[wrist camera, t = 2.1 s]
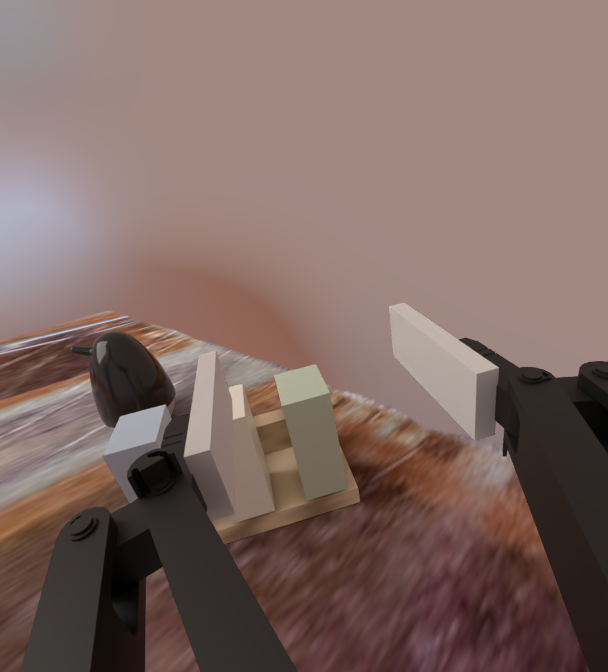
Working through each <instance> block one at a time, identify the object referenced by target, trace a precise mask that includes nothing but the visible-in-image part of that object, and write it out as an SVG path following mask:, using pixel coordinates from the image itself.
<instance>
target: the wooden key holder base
mask: <svg viewBox="0 0 608 672" xmlns="http://www.w3.org/2000/svg"><path fill="white" fill-rule="evenodd" d="M253 420H254V423H255V426H256V429H257V432H258V436H259V439H260V442H261V445H262V449H263V452H264V455H265V458H266V461H267V465H268V468H269V472H270V478H271V485H272V492H273V498H274V505H275V511H272V512H269V513H266V514H262V515H259V516H256V517H253V518H249V519H246V520H243V521H240V522H236V523H232V521H231V519H230V516H227V517H224V518H220V519H217V520H214V521H212V520H211V518H210V516H209V513H208V511H207V515H208V517H209V518H210V520H211V522H212V524H213V525H214V527H215V529H216V530H217V532H218V534H219V536H220V537H221V539H222V541H223V543H224V544H227V543H231V542H234V541H237V540H240V539H243V538H247V537H250V536H253V535H256V534H259V533H263V532H266V531H269V530H272V529H275V528H279V527H282V526H285V525H288V524H291V523H295V522H298V521H301V520H304V519H307V518H311V517H314V516H317V515H320V514H323V513H326V512H330V511H333V510H336V509H339V508H342V507H346V506H349V505H352V504H355V503H358V502H360V497H359V491H358V486H357V484H356V482H355V479H354V477H353V475H352V472H351V470H350V468H349V465H348V463H347V461H346V458H345V456H344V454H343V451H342V449H341V447H340V450H341V456H342V461H343V467H344V472H345V477H346V483H347V489H344V490H340V491H337V492H334V493H331V494H327V495H324V496H321V497H318V498H314V499H311V500H308V501H307V500H306V497H305V493H304V489H303V485H302V481H301V477H300V474H299V470H298V466H297V462H296V458H295V455H294V451H293V447H292V443H291V439H290V435H289V432H288V428H287V424H286V420H285V416H284V413H283V409H279V410H275V411H272V412H268V413H265V414H261V415H257V416H254V417H253ZM339 445H340V444H339Z"/></svg>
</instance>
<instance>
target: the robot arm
mask: <svg viewBox="0 0 608 672" xmlns="http://www.w3.org/2000/svg"><path fill="white" fill-rule="evenodd" d="M389 310H390V321H391V332H392V344H393V356H394V357H395V358H396V359H397V360H398V361H399V362H400V363H401V364H402V365H403V366H404V367H405V368H406V369H407V370H408V372H410V374H411V375H412V376H413V377H414V378H415V379H416V380H417V381H418V382H419V383H420V384H421V385H422V386H423V387H424V388H425V389H426V390H427V391H428V392H429V394H430V395H432V397H433V398H434V399H435V400H436V401H437V402H438V403H439V404H440V405H441V406H442V407H443V408H444V409H445V410H446V411H447V412H448V413H449V414H450V416H451V417H452V418H453V419H454V420H455V421H456V422H458V424H459V425H460V426H461V427H462V428H463V429H464V430H465V431H466V432H467V433H468V434H469V435H470V436H471V438H472V439H473V440H474V441H476V440H479V439H482V438H486V437H489V436H492V435H495V423H496V421H497V422H498V423H499V424H500V425H501V426H502V427H504V439H503V456H507V450H508V451H509V454H510V457H511V459H512V462H513V465H514V467H515V470H516V473H517V476H518V478H519V481H520V484H521V486H522V489H523V492H524V495H525V497H526V500H527V503H528V505H529V508H530V511H531V513H532V516H533V519H534V522H535V524H536V527H537V530H538V532H539V535H540V538H541V541H542V543H543V546H544V549H545V551H546V554H547V557H548V560H549V562H550V565H551V568H552V570H553V573H554V576H555V579H556V581H557V584H558V587H559V589H560V592H561V595H562V597H563V600H564V603H565V606H566V608H567V611H568V614H569V616H570V619H571V622H572V625H573V627H574V630H575V633H576V635H577V638H578V641H579V644H580V646H581V649H582V652H583V654H584V657H585V660H586V662H587V665H588V668H589V671H590V672H608V362H604V361H596V362H588V363H585V364H583V365H582V366H581V367H580V369H579V375H578V376H576V377H562V378H561V377H560V378H555V377H554V376H553V375H552V374H551V373H549V372H547V371H545V370H543V369H539V368H534V367H521V368H519V367H517V366H516V365H514V364H513V363H511V362H509V361H508V360H506V359H505V358H503V357H502V356H500V355H499V354H497V353H496V354H495V352H494V351H492V350H491V349H488V348H487V347H486V346H484V345H483V344H481V343H480V342H478V341H475V340H471V339H468V338H463V339H459V340H458V339H456V338H455V337H453V336H452V335H450V334H449V333H448V332H446V331H445V330H443V329H442V328H440V327H439V326H437V325H436V324H434V323H433V322H432V321H430V320H428V319H427V318H426V317H424V316H423V315H421V314H420V313H418V312H417V311H415V310H414V309H412V308H411V307H410V306H408V305H407V304H405V303H401V304H397V305H393V306H390V307H389ZM127 479H128V481H129V483H130V485H131V487H132V488H133V490H134V492H135V494H136V496H137V497H138V498H137V499H136V500H135V501H133V502H131V503H130V504H128V505H126V506H125V507H123V508H121V509H119V510H117V511H115V512H113V513H112V514H110V512H109V511H108V510H107V509H105V508H104V507H94V508H91V509H87V510H85V511H83V512H82V513H80V514H78V515H76V516H75V517H74V518H73V519H72V520H70V521H69V522H68V523H67V524H66V525H65V526H64V528H63V529H62V530H61V531H60V533H59V535H58V537H57V539H56V542H55V546H54V550H53V553H52V557H51V561H50V564H49V568H48V572H47V575H46V579H45V583H44V586H43V590H42V594H41V597H40V601H39V605H38V608H37V612H36V616H35V619H34V623H33V627H32V630H31V634H30V638H29V641H28V645H27V649H26V652H25V656H24V660H23V663H22V667H21V671H20V672H145V605H146V577H147V576H148V575H150V574H152V573H153V572H155V571H156V570H158V569H159V568H161V567H163V569H164V571H165V574H166V577H167V580H168V583H169V585H170V588H171V591H172V594H173V596H174V599H175V602H176V605H177V608H178V610H179V613H180V616H181V619H182V622H183V624H184V627H185V630H186V633H187V635H188V638H189V641H190V644H191V647H192V649H193V652H194V655H195V658H196V660H197V663H198V666H199V669H200V672H297V670H296V668H295V666H294V665H293V663H292V661H291V660H290V658H289V656H288V654H287V653H286V651H285V649H284V647H283V646H282V644H281V642H280V640H279V639H278V637H277V635H276V633H275V632H274V630H273V628H272V626H271V625H270V623H269V621H268V619H267V618H266V616H265V614H264V612H263V611H262V609H261V607H260V605H259V604H258V602H257V600H256V598H255V597H254V595H253V593H252V592H251V590H250V588H249V586H248V585H247V583H246V581H245V579H244V578H243V576H242V574H241V572H240V571H239V569H238V567H237V565H236V564H235V562H234V560H233V558H232V557H231V555H230V553H229V551H228V550H227V548H226V546H225V544H224V543H223V541H222V539H221V537H220V536H219V534H218V532H217V530H216V529H215V527H214V525H213V524H212V522H211V520H212V521H214V520H217V519H220V518H224V517H227V516H230V515H234V514H235V480H234V443H233V407H232V397H231V394H230V391H229V388H228V385H227V382H226V379H225V376H224V373H223V370H222V367H221V364H220V361H219V358H218V355H217V352H216V351H213V352H210V353H206V354H202V355H199V361H198V367H197V374H196V380H195V387H194V393H193V400H192V406H191V412H190V414H187V415H183V416H180V417H176V418H173V419H172V420H171V421H170V423H169V424H168V425H167V427H166V428H165V431H164V435H163V440H162V443H161V448H158V449H154V450H151V451H149V452H147V453H145V454H143V455H142V456H140V457H139V458H137V459H136V460H135V461H134V462H133V464H132V465H131V466H130V468H129V470H128V472H127ZM207 511H208V513H209V516H210V518H211V520H210V518H209V517H208V515H207Z"/></svg>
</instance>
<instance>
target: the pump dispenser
mask: <svg viewBox="0 0 608 672" xmlns="http://www.w3.org/2000/svg"><path fill="white" fill-rule="evenodd" d="M70 351H71V353H72V354H77V355H82V356H87V357H90V380H91V387H92V392H93V396H94V400H95V403H96V406H97V409H98V412H99V415H100V417H101V419H102V421H103V422H104V424H105V425H106V426H108V427H110V428H112V429H113V430H114V429H115V427H116V425H117V422H118V420H119V418H120V416H124V415H127V414H131V413H135V412H139V411H142V410H146V409H150V408H154V407H157V406H161V405H165V404H166V406H167V409H168V411H169V413H170V415H172V413H173V410H174V406H175V388H174V386H173V384H172V382H171V380H170V378H169V377H168V375H167V373H166V372H165V370H164V369H163V367H162V366H161V364H160V363H159V362H158V360H157V359H156V358H155V357H154V356H153V355H152V354H151V352H150V351H149V350H148V349H147V348H146V347H145V346H144V345H142V344H141V343H140V342H139V341H138V340H137V339H135V338H134V337H132V336H131V335H129V334H127V333H125V332H121V331H110V332H107V333H104V334H102V335H101V336H99V337H98V338H97V339H96V340H95V342H94V344H93V346H92V347H86V346H72V347H71V350H70Z"/></svg>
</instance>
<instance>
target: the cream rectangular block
mask: <svg viewBox="0 0 608 672" xmlns="http://www.w3.org/2000/svg"><path fill="white" fill-rule="evenodd" d="M228 388H229V391H230V394H231V397H232V407H233V443H234V480H235V514H234V515H230V519H231V521H232V523H236V522H240V521H243V520H246V519H249V518H253V517H256V516H259V515H262V514H266V513H269V512H272V511H275V505H274V498H273V492H272V485H271V478H270V472H269V468H268V465H267V461H266V458H265V455H264V452H263V449H262V445H261V442H260V439H259V436H258V432H257V429H256V426H255V423H254V420H253V416H252V413H251V410H250V407H249V404H248V400H247V397H246V394H245V391H244V387H243V384H240V385H236V386H232V387H228Z"/></svg>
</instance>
